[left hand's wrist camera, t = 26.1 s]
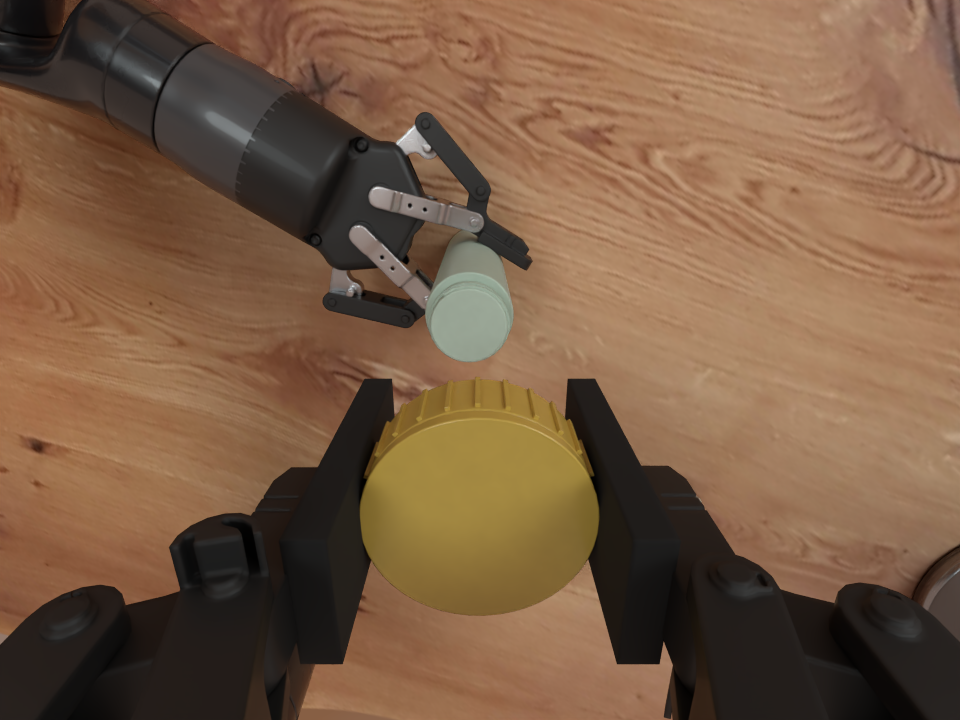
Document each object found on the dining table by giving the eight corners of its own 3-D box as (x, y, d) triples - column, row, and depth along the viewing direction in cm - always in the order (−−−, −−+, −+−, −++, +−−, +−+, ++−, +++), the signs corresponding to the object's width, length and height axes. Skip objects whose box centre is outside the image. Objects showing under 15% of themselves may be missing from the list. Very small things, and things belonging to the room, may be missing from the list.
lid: (408, 344, 11) (395, 379, 9) (621, 416, 12) (646, 462, 10) (348, 524, 13) (327, 583, 11) (537, 578, 13) (546, 643, 12)
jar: (509, 265, 40) (532, 343, 23) (463, 291, 40) (452, 385, 23) (483, 217, 38) (486, 261, 21) (436, 245, 39) (403, 309, 22)
